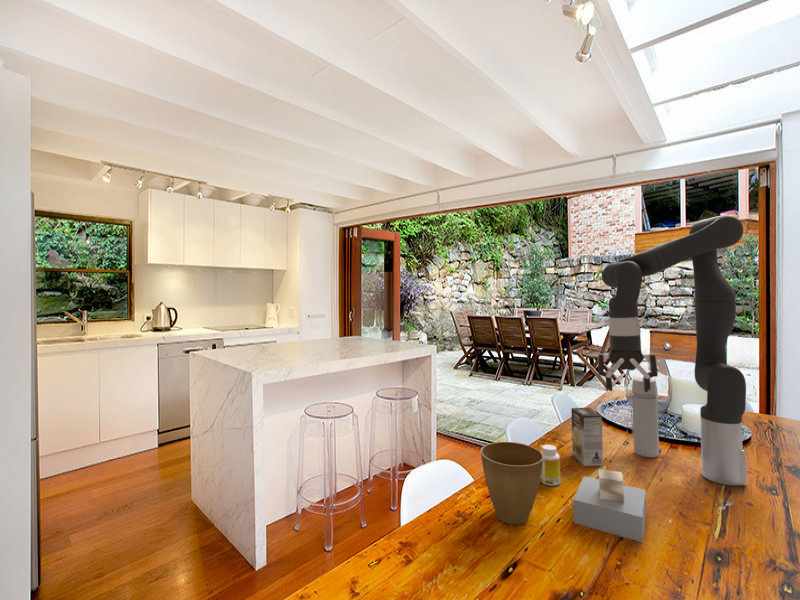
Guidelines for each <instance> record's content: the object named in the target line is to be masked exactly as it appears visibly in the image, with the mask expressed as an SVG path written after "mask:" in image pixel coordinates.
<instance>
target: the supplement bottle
mask: <svg viewBox="0 0 800 600" xmlns="http://www.w3.org/2000/svg"><path fill="white" fill-rule="evenodd" d="M540 452H541V453H542V454H543V465H542V471H541V477H540V483H542V484H544V485H545V486H549V487H551V486H552V487H555V486H558V485H559V484H561V461H560V459H561V458H560V454H559V453H558V450H557V446H555V445H553V444H542V445H541V451H540Z"/></svg>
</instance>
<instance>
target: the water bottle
mask: <svg viewBox="0 0 800 600" xmlns="http://www.w3.org/2000/svg"><path fill="white" fill-rule="evenodd" d="M658 393H659V392H658V387H657V381H656V380H655V379H653V378H650V390H648V392H644V389H643V377H634V378H632V383H631V392H629V393H628V395H629V403H628V404H629V405H628V407H631V402H632V409H630V411H627V417H629V415H630V414H631V415H630V417H631V421H632V424H631V435H630V436H629V434H628V433H629V432H628V431H626V434H627V435H626V436H627V438H632V437H633V451H634V452H635V454H636V455H638V456H640V457H644V458H651V459H652V458H653V459H654V458H657V457H658V456H659V455H660V443H659V441H660V440H659V439H660V438H659V437H660V436H659V435H660V434H659V432H660V431H659V404H658V403H659V397H658V395H659V394H658ZM631 399H632V400H631ZM629 413H630V414H629ZM626 422H627V423H626V427H628V426H629V425H628V423H629V420H627V421H626Z"/></svg>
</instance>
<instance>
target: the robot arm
mask: <svg viewBox="0 0 800 600" xmlns="http://www.w3.org/2000/svg"><path fill="white" fill-rule="evenodd" d="M743 234H744V225H743V223H742V221H741V220H740V219H739V218H737V217H735V216H734V215H733V216H732V215H718V216H714V217H709V218H705V219H702V220H698V221H696V222H694V223H693V224H692V226H691V227H690V230H689V232H688V234H687V235H685V236H682V237H680V238H679V237H678V238H676V239H672V240H669V241H667V242H662V243H661V244H658V245H655V246H652V247H650V248H648V249H646V250H644V251H641V252H639V253H637V254H635V255H633V256H628V257H625V258H623V259H620V260H617V261H614V262H612V263H610V264H608V265H607V266H605V267H604V268H603V270H602V273H601V280H602V282H603V284H605V285H606V286H608V287H609V288H614V289H615V288H616V292H615V296H612V297H611V298H610V299H609V301H608V314H609V315H608V316H609V318H608V319H609V321H608V332H609V334H608V335H609V349H610V351H609V354H603V353H601V352H600V353H598V354H597V355H598V356H597V359H598V360H597V367H598V368H597V373H598V375H599V376H602V377H604V378H605V386H606V388H607V390H609V392H613V381H612V380H613V379H612V376H613V375H614V373H615V372H616V371H617V370H620V371H626V370H629V371H635V370H638V372H639V373H640V374H641V375H642V376H643V377H642V378H643V389H644V392H648V390H650V379H652V378H654V377H655V378H656V377H658V375H659V374H658V373H659V372H658V366H657V358H656V355H655V354H654V353H649V354H643V352H642V345H641V344H642V340H641V325H640V320H639V310H638V309H639V308H638V301H639V300H638V299H639V297H640V293H641V287H642V284H643V277H648V276H653V275H655V274H657V273H660V272H662V271H664V270H667V269H670V268H671V267H673V266H676V265H677V264H681V263H682V262H685V261H687V260H690V259H691V260H692V269H693V280H694V281H693V283H694V312H695V313H694V315H695V334H696V335H695V337H696V351H695V364H694V379H695V382H696V384H697V385H698V387H700V388H701V389H702V390H703V391H705V392H707V393H706V395H707V396H706V397H707V398H706V404H705V405H702V406H700V411H699V412H700V413H699V414H700V451H701V452H700V453H701V475H702V477H704V479H706V480H709V481H711V482H713V483H717V484H720V485H724V486H725V485H726V486H733V487H735V486H747V463H746V460H747V459H746V456H747V455H746V453H747V452H746V450H744V448H743V422H742V421H743V416H744V414H745V412H746V404H747V403H746V402H747V384H746V382H747V381H746V379H745V376H744V374H743V373H742V371H741V370H740V369H738V368H736V367H734V366H732V365H729V364H728V363H727V353H726V350H727V349H726V348H727V346H726V345H727V342H728V338H729V337H730V334H731V332H732V329H733V327H734V325H735V321H736V318H737V317H736V316H737V304H736V303H737V302H736V300H737V299H736V294H735V291H734V289H733V287H732V286H731V284H730V283H729V281H728V280H727V278H726V277H725V276H724V274H723V273H722V271H721V269H720V267H719V263H718V250H720V249H727V248H729V247H732V246H734V245H736V244H737V243H739V241H740V240H741V239H742V237H743ZM608 359H609V360H610V361H611V363H612V364H611V365H610V366H609V367H608V369H607V370H606V371H605V370H604V363H606V362H607V360H608ZM644 359H645V360H646V362H647V363H649V370H650V371H648V372H647V371H646V370H645V369H644V368H643V367H642V366H641V365H640V364H641V363H642V362H643V360H644Z"/></svg>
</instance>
